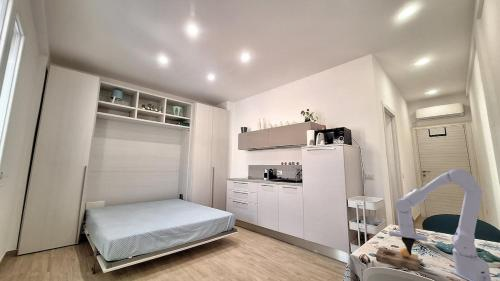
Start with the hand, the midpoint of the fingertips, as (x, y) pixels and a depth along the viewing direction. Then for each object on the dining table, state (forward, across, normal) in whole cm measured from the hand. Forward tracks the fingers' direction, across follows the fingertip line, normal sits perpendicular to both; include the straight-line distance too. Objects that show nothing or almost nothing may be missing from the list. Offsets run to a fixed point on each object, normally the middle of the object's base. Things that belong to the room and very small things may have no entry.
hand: (409, 254), depth 96 cm
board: (+4, +5, 0) cm, 7 cm away
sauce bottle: (+4, +1, -37) cm, 37 cm away
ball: (0, +2, 0) cm, 2 cm away
